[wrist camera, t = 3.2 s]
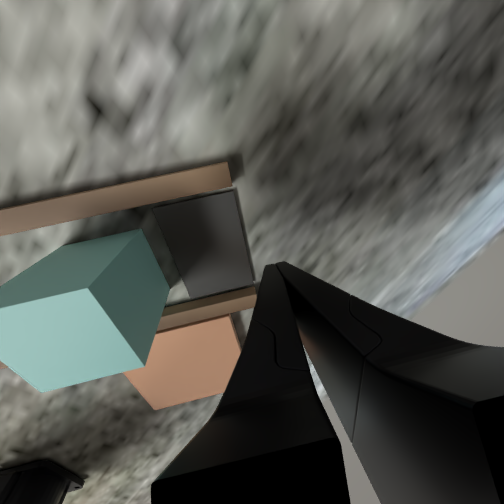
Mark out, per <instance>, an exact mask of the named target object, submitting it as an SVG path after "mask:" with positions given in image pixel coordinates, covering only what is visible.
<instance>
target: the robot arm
mask: <svg viewBox="0 0 504 504" xmlns="http://www.w3.org/2000/svg"><path fill="white" fill-rule="evenodd" d="M302 343H303V344H302ZM303 345H304V347H305V349H306V351H307V353H308V356H309V358H310V360H311V362H312V364H313V366H314V368H315V370H316V372H317V374H318V376H319V378H320V380H321V382H322V384H323V386H324V388H325V390H326V392H327V394H328V396H329V398H330V400H331V402H332V404H333V406H334V408H335V410H336V413H337V415H338V417H339V419H340V421H341V423H342V425H343V427H344V429H345V431H346V433H347V435H348V437H349V439H350V441H351V442H352V445H353V447H354V449H355V452H356V454H357V456H358V458H359V460H360V462H361V464H362V466H363V468H364V470H365V472H366V474H367V476H368V478H369V480H370V482H371V484H372V486H373V488H374V490H375V492H376V494H377V496H378V498H379V500H380V503H381V504H504V347H492V346H483V345H477V344H472V343H467V342H464V341H460V340H457V339H454V338H451V337H449V336H446V335H443V334H441V333H438V332H436V331H434V330H431V329H429V328H426V327H424V326H421V325H419V324H416V323H414V322H411V321H409V320H407V319H404V318H402V317H399V316H397V315H394V314H392V313H390V312H387V311H385V310H383V309H380V308H378V307H376V306H374V305H372V304H369V303H367V302H365V301H363V300H361V299H359V298H357V297H355V296H353V295H351V296H350V294H349V293H347V292H345V291H343V290H341V289H339V288H337V287H335V286H333V285H331V284H329V283H327V282H325V281H323V280H321V279H319V278H317V277H315V276H313V275H311V274H309V273H307V272H305V271H303V270H301V269H299V268H297V267H295V266H293V265H291V264H289V263H287V262H285V261H283V262H278V263H276V264H270V265H266V266H265V268H264V272H263V276H262V280H261V283H260V287H259V291H258V295H257V299H256V303H255V307H254V311H253V315H252V320H251V322H250V326H249V330H248V333H247V336H246V340H245V343H244V345H243V348H242V350H241V353H240V356H239V358H238V360H237V363H236V365H235V367H234V370H233V372H232V375H231V377H230V379H229V382H228V384H227V386H226V389H225V391H224V394H223V396H222V398H221V400H220V402H219V404H218V406H217V408H216V410H215V412H214V413H213V415H212V416H211V418H210V419H209V420H208V422H207V423H206V424H205V425H204V426H203V427H202V429H201V430H200V431H199V432H198V433H197V434H196V435H195V436H194V437H193V438H192V440H191V441H190V442H189V443H188V444H187V445H186V446H185V447H184V448H183V450H182V451H181V452H180V453H179V454H178V455H177V456H176V457H175V458H174V460H173V461H172V462H171V463H170V464H169V465H168V466H167V467H166V468H165V470H164V471H163V472H162V473H161V474H160V475H159V476H158V477H157V478H156V480H155V481H154V482H153V483H152V484H151V504H350V497H349V491H348V485H347V479H346V473H345V466H344V461H343V454H342V448H341V443H340V441H339V439H338V436H337V435H336V432H335V430H334V428H333V426H332V424H331V422H330V419H329V417H328V415H327V413H326V411H325V409H324V407H323V405H322V403H321V400H320V398H319V396H318V394H317V391H316V388H315V385H314V382H313V379H312V375H311V373H310V368H309V365H308V361H307V358H306V354H305V351H304V347H303ZM84 482H85V481H84V480H82V479H80V478H79V477H77V476H75V475H73V474H71V473H70V472H68V471H66V470H64V469H62V468H61V467H59V466H57V465H55V464H54V463H52V462H50V461H46V460H43V461H38V462H35V463H31V464H27V465H23V466H20V467H16V468H12V469H8V470H5V471H1V472H0V504H62V503H63V501H64V498H65V496H66V494H67V492H71V491H74V490H78V489H81V488H83V485H84Z"/></svg>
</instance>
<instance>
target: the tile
mask: <svg viewBox="0 0 504 504" xmlns="http://www.w3.org/2000/svg"><path fill="white" fill-rule="evenodd" d="M241 350H242V349H241V346H240V343H239V340H238V336H237V333H236V330H235V327H234V324H233V321H232V318H231V315H230V313H229V314H225V315H221V316H217V317H212V318H208V319H204V320H200V321H196V322H192V323H188V324H184V325H180V326H175V327H171V328H167V329H163V330H159V331H156V334H155V337H154V340H153V343H152V346H151V349H150V352H149V355H148V359H147V362H146V365H145V367H142V368H138V369H134V370H130V371H126V372H123V373H124V374H125V376H126V377H127V378H128V379H129V380H130V382H131V383H132V384H133V385H134V386H135V388H136V389H137V390H138V391H139V392H140V394H141V395H142V396H143V397H144V398H145V400H146V401H147V402H148V403H149V404H150V406H151V407H152V408H153V409H154V410H158V409H162V408H166V407H170V406H174V405H177V404H181V403H185V402H189V401H193V400H197V399H200V398H204V397H208V396H212V395H216V394H220V393H223V392H224V391H225V389H226V386H227V384H228V382H229V379H230V377H231V375H232V372H233V370H234V367H235V365H236V363H237V360H238V358H239V356H240V353H241Z"/></svg>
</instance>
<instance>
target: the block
mask: <svg viewBox="0 0 504 504" xmlns="http://www.w3.org/2000/svg"><path fill="white" fill-rule="evenodd" d="M169 291H170V287H169V285H168V283H167V281H166V279H165V277H164V275H163V273H162V271H161V269H160V266H159V264H158V262H157V260H156V258H155V256H154V254H153V252H152V250H151V248H150V246H149V244H148V242H147V239H146V237H145V235H144V233H143V231H142V229H136V230H132V231H127V232H123V233H118V234H114V235H109V236H105V237H101V238H96V239H92V240H87V241H83V242H78V243H74V244H69V245H65V246H61V247H60V248H58V249H57V250H55V251H54V252H52V253H51V254H49V255H48V256H46V257H45V258H43V259H41V260H40V261H38V262H37V263H35V264H34V265H32V266H31V267H29V268H28V269H26V270H25V271H23V272H22V273H20V274H19V275H17V276H16V277H14V278H13V279H11V280H9V281H8V282H6V283H5V284H3V285H2V286H0V361H1V362H3V363H4V364H5V365H6V366H8V367H9V368H10V369H12V370H13V371H14V372H15V373H17V374H18V375H19V376H20V377H22V378H23V379H24V380H26V381H27V382H28V383H29V384H31V385H32V386H33V387H34V388H36V389H37V390H38V391H40V392H41V393H43V392H47V391H51V390H55V389H59V388H63V387H66V386H70V385H74V384H78V383H82V382H86V381H90V380H94V379H98V378H102V377H106V376H110V375H114V374H118V373H122V372H126V371H130V370H134V369H138V368H142V367H145V365H146V362H147V359H148V355H149V352H150V349H151V346H152V343H153V340H154V337H155V334H156V331H157V328H158V325H159V322H160V319H161V316H162V312H163V309H164V306H165V303H166V300H167V297H168V294H169Z"/></svg>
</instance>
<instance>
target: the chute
mask: <svg viewBox="0 0 504 504" xmlns="http://www.w3.org/2000/svg"><path fill="white" fill-rule="evenodd" d="M231 186H232V181H231V177H230V172H229V167H228V163H227V161H226V162H221V163H216V164H212V165H207V166H202V167H197V168H192V169H188V170H183V171H178V172H173V173H169V174H164V175H159V176H154V177H150V178H145V179H140V180H135V181H131V182H126V183H121V184H116V185H111V186H107V187H102V188H97V189H92V190H88V191H83V192H78V193H73V194H69V195H64V196H59V197H54V198H50V199H45V200H40V201H35V202H30V203H26V204H21V205H16V206H11V207H7V208H2V209H0V236H4V235H8V234H13V233H18V232H22V231H27V230H31V229H36V228H41V227H45V226H50V225H55V224H59V223H64V222H69V221H73V220H78V219H82V218H87V217H92V216H96V215H101V214H106V213H110V212H115V211H120V210H124V209H129V208H133V207H138V206H143V205H147V204H152V203H157V202H161V201H166V200H171V199H175V198H180V197H184V196H189V195H194V194H198V193H203V192H208V191H212V190H217V189H222V188H226V187H231ZM152 209H153V212H154V214H155V216H156V219H157V221H158V223H159V226H160V228H161V230H162V233H163V235H164V237H165V240H166V242H167V244H168V247H169V249H170V251H171V254H172V256H173V258H174V261H175V263H176V265H177V268H178V270H179V272H180V275H181V277H182V279H183V282H184V284H185V286H186V289H187V291H188V294H189V296H190V298H191V299H192V298H196V297H200V296H205V295H209V294H213V293H217V292H221V291H226V290H230V289H234V288H238V287H242V286H247V285H251V284H254V283H253V278H252V273H251V269H250V264H249V260H248V255H247V251H246V246H245V242H244V237H243V233H242V228H241V223H240V219H239V214H238V210H237V205H236V201H235V196H234V192H233V190H232V191H228V192H223V193H218V194H214V195H209V196H205V197H200V198H195V199H191V200H186V201H181V202H177V203H172V204H168V205H163V206H158V207H154V208H152ZM256 299H257V295H256V291H255V287H254V286H253V287H249V288H245V289H240V290H236V291H232V292H228V293H224V294H219V295H215V296H211V297H207V298H203V299H199V300H194V301H190V302H186V303H182V304H178V305H173V306H169V307H165V308H164V309H163V312H162V316H161V319H160V322H159V325H158V328H157V331H159V330H163V329H167V328H171V327H175V326H180V325H184V324H188V323H192V322H196V321H200V320H204V319H208V318H212V317H217V316H221V315H225V314H229V313H233V312H237V311H241V310H245V309H249V308H253V307H255V303H256ZM7 367H8V366H6V365H5V364H4V363H3V362H1V361H0V369H3V368H7Z"/></svg>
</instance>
